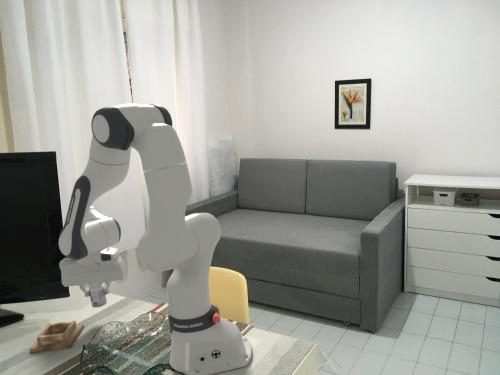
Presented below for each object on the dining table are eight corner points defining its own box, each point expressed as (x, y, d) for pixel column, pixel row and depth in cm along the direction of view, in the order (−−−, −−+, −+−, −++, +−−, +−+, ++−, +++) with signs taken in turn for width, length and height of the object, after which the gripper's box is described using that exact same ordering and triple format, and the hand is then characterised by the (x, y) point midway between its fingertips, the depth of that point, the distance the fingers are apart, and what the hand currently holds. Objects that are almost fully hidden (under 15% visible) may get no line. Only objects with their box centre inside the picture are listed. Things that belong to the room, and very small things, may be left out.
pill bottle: (88, 307, 138) (84, 283, 136) (99, 300, 142) (95, 277, 141) (98, 308, 136) (94, 284, 134) (109, 302, 140) (105, 278, 138)
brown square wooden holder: (84, 327, 136) (82, 317, 136) (71, 347, 124) (69, 337, 124) (47, 331, 136) (45, 321, 135) (30, 352, 124) (28, 341, 123)
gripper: (54, 262, 132) (62, 302, 135) (119, 254, 133) (125, 295, 135) (62, 255, 139) (69, 294, 141) (123, 248, 139) (130, 287, 142)
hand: (97, 294), depth 138 cm, fingers closed on pill bottle, 5 cm apart
